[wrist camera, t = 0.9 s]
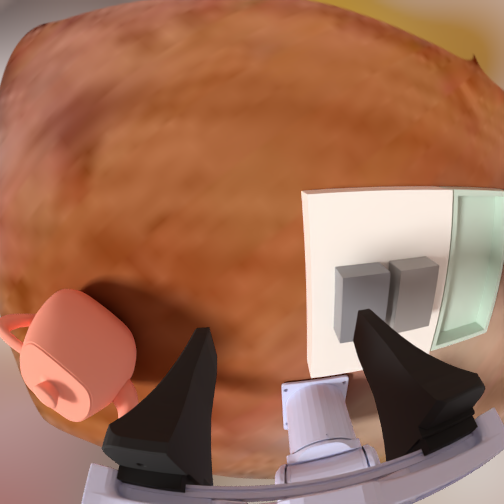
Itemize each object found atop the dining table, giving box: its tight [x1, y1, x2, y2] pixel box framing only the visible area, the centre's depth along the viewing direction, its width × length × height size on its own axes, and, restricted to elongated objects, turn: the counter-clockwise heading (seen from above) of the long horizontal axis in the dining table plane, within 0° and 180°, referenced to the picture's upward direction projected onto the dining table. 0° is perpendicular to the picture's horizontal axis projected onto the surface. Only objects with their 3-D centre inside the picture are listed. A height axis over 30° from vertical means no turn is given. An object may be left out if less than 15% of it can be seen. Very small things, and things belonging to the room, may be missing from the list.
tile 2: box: [333, 262, 391, 343], centre depth 22 cm, size 6×4×2 cm, turn 6°
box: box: [430, 186, 504, 351], centre depth 24 cm, size 18×10×3 cm, turn 6°
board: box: [301, 186, 453, 378], centre depth 24 cm, size 18×14×3 cm
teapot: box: [0, 289, 138, 422], centre depth 23 cm, size 13×20×12 cm, turn 53°
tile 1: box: [385, 256, 439, 333], centre depth 21 cm, size 6×4×2 cm, turn 6°
